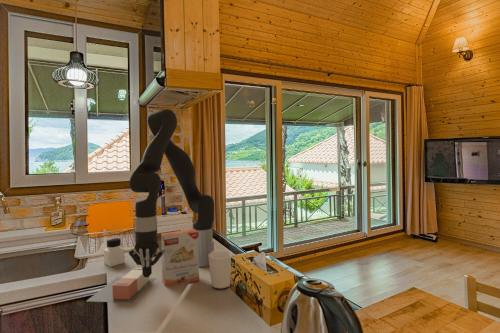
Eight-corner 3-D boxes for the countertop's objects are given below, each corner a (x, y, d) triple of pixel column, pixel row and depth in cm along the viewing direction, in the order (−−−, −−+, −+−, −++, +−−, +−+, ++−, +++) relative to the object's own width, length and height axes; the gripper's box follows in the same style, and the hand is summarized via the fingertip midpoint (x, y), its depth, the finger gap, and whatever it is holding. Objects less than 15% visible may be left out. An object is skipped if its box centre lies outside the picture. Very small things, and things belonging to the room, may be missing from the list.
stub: (137, 291, 109) (136, 278, 108) (129, 299, 103) (128, 285, 102) (121, 291, 109) (121, 277, 109) (112, 299, 103) (112, 285, 103)
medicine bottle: (124, 262, 142) (124, 238, 142) (109, 267, 137) (108, 241, 136) (118, 259, 147) (117, 236, 147) (103, 263, 142) (103, 239, 141)
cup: (218, 278, 122) (218, 248, 122) (238, 283, 117) (238, 252, 117) (203, 288, 114) (202, 256, 113) (224, 294, 109) (223, 260, 108)
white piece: (156, 281, 121) (155, 266, 121) (132, 306, 101) (131, 288, 101) (116, 280, 122) (116, 265, 122) (86, 304, 102) (85, 286, 102)
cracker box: (165, 289, 113) (163, 236, 112) (162, 283, 118) (160, 232, 117) (200, 281, 119) (198, 231, 119) (195, 276, 125) (194, 228, 124)
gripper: (168, 226, 107) (168, 272, 108) (133, 225, 109) (134, 271, 109) (159, 231, 100) (160, 281, 100) (123, 230, 101) (124, 280, 102)
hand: (147, 276), depth 105 cm, fingers closed
